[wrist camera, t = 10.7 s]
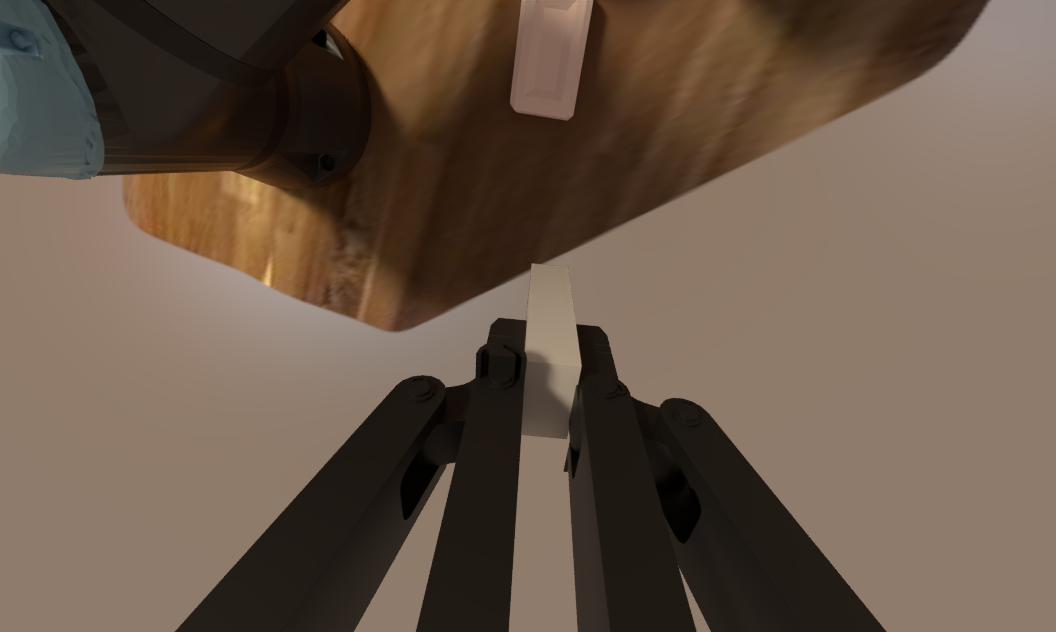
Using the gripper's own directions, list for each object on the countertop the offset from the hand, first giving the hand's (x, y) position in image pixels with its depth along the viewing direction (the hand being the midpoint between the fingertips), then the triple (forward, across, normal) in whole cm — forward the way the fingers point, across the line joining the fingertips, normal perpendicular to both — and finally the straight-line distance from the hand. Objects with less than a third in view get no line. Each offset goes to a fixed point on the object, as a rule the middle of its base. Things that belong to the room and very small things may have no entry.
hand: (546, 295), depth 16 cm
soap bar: (+25, -1, +10) cm, 27 cm away
